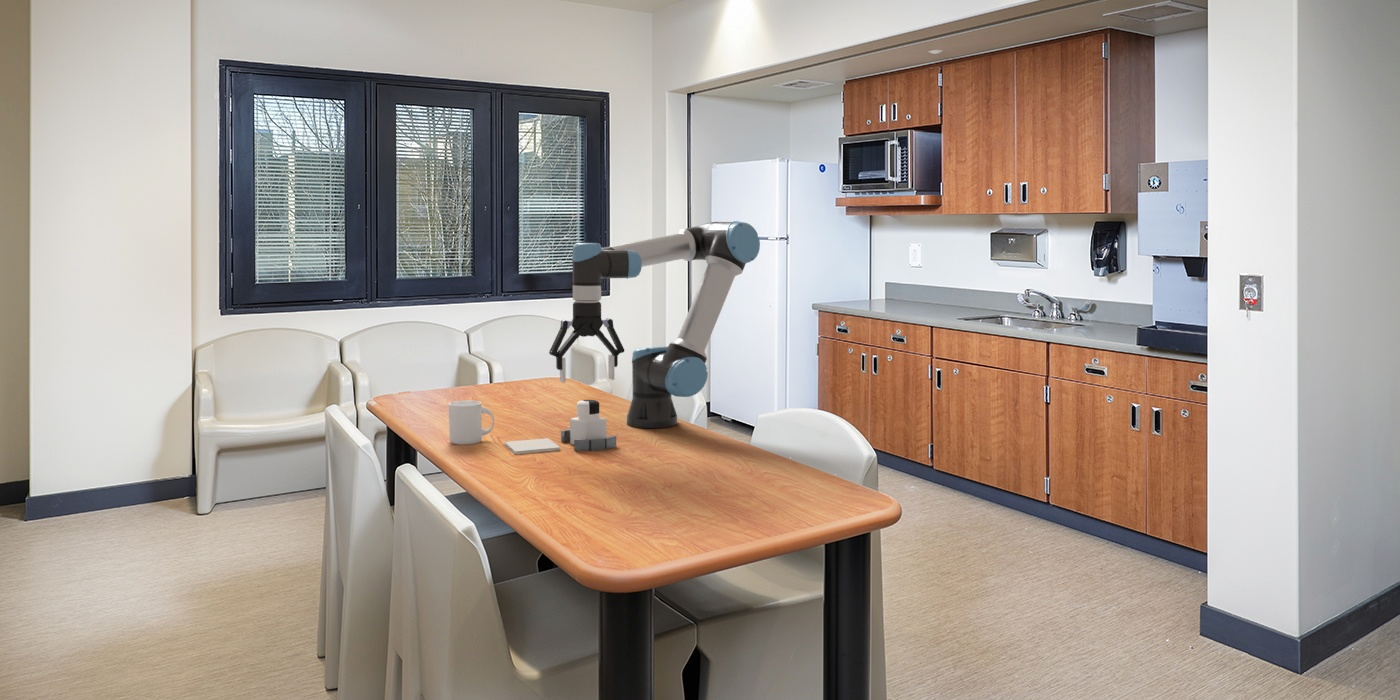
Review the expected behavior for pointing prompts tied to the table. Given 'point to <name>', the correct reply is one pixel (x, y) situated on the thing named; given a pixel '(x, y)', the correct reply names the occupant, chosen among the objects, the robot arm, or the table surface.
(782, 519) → the table surface
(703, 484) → the table surface
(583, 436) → the medicine bottle
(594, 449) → the cradle
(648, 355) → the robot arm
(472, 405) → the mug
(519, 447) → the tile
